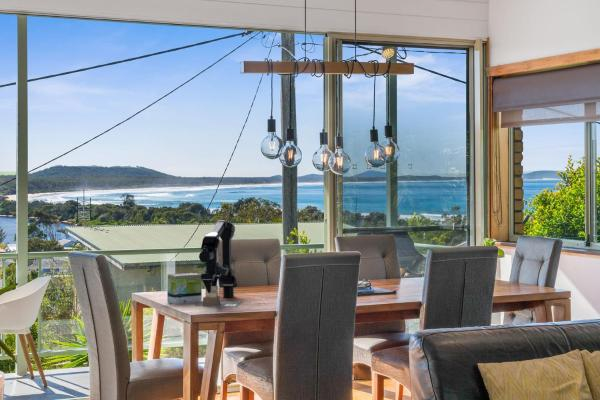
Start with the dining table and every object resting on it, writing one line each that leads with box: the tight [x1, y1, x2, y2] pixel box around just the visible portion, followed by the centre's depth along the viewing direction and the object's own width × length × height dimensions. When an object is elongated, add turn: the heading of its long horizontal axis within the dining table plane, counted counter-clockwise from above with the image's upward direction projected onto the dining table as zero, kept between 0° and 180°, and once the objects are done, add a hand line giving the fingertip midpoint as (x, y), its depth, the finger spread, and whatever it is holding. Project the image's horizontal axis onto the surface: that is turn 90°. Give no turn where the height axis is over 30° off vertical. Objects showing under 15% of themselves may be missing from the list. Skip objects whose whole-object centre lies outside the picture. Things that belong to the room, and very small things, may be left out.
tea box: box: [166, 272, 203, 305], centre depth 436 cm, size 15×10×15 cm, turn 126°
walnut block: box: [202, 295, 221, 307], centre depth 424 cm, size 7×7×4 cm
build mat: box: [193, 300, 244, 308], centre depth 426 cm, size 16×22×1 cm
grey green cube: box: [204, 285, 219, 298], centre depth 423 cm, size 5×5×5 cm
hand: (211, 291), depth 423 cm, fingers open, 9 cm apart
